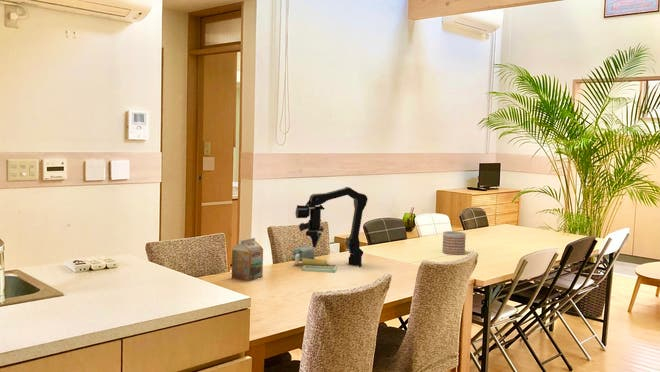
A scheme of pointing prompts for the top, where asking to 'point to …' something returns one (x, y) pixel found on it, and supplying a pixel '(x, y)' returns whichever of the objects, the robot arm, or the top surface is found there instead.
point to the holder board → (311, 265)
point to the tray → (319, 268)
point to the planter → (454, 243)
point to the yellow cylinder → (314, 262)
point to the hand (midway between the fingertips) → (314, 246)
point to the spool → (304, 252)
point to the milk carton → (247, 260)
